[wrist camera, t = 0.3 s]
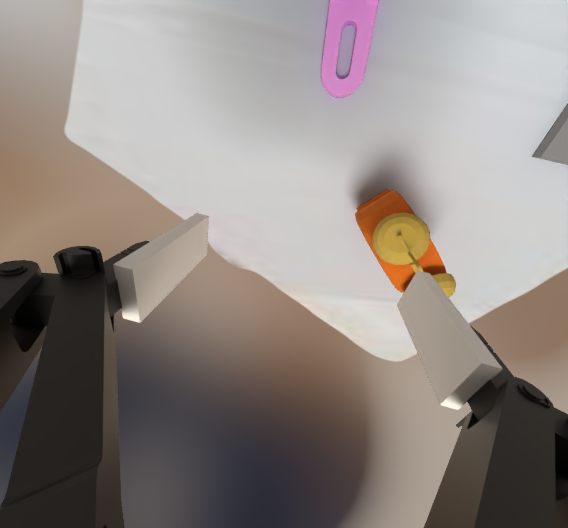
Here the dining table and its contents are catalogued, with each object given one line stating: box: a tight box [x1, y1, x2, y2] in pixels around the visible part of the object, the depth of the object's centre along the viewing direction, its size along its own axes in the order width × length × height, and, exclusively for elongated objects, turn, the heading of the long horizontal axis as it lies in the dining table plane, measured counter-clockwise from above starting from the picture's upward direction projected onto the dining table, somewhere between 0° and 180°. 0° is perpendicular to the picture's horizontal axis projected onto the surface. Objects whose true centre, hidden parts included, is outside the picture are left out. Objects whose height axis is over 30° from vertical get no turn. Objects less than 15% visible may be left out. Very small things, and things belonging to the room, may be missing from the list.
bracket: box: [321, 0, 379, 98], centre depth 27 cm, size 13×6×7 cm, turn 176°
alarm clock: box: [355, 190, 456, 298], centre depth 31 cm, size 13×6×20 cm, turn 37°
